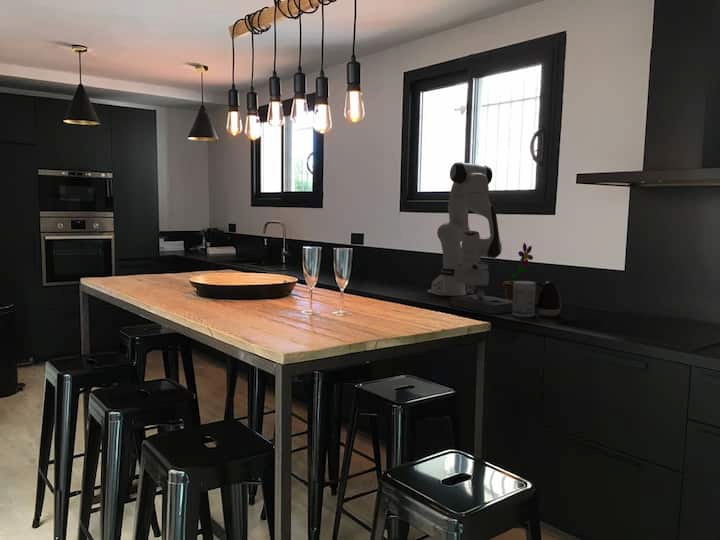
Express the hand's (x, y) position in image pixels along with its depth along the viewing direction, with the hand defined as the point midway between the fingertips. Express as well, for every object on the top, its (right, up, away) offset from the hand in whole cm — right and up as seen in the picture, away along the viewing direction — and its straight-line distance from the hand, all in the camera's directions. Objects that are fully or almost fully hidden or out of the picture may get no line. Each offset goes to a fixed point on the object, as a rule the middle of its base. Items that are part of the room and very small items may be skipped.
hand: (470, 293), depth 283 cm
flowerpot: (+24, -5, +5) cm, 25 cm away
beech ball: (+4, 0, -6) cm, 7 cm away
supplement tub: (+18, -9, -27) cm, 34 cm away
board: (+5, -6, -8) cm, 12 cm away
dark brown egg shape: (+29, -9, -27) cm, 41 cm away
